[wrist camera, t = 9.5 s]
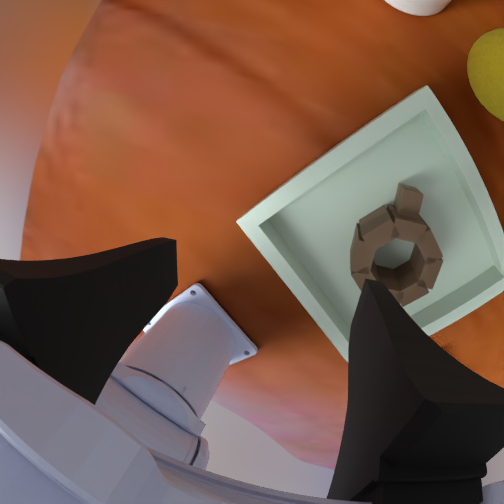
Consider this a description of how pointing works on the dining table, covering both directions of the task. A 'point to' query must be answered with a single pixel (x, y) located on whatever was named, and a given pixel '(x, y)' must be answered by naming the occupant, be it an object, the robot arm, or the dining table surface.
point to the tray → (383, 193)
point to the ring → (387, 229)
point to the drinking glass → (419, 6)
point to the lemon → (488, 71)
